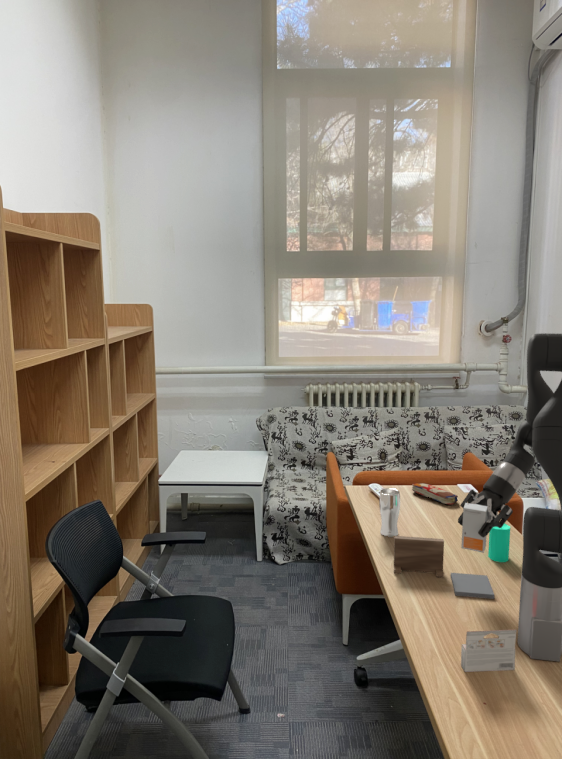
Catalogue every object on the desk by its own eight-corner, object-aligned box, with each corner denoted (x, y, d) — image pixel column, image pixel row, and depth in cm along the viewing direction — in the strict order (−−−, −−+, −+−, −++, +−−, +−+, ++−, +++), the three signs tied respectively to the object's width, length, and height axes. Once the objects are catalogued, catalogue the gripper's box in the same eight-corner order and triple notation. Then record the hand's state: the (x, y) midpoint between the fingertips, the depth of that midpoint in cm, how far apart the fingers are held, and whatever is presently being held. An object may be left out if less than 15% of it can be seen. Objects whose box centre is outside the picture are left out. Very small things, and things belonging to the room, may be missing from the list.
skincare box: (461, 549, 144) (462, 507, 142) (463, 542, 148) (465, 502, 146) (484, 553, 141) (486, 511, 139) (486, 546, 145) (488, 505, 143)
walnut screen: (443, 577, 151) (444, 545, 149) (394, 573, 154) (394, 541, 152) (441, 567, 157) (442, 535, 155) (393, 563, 159) (394, 532, 158)
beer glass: (384, 538, 176) (385, 496, 173) (375, 530, 182) (376, 489, 180) (403, 536, 178) (404, 494, 175) (393, 527, 184) (394, 487, 182)
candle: (510, 563, 159) (512, 525, 157) (489, 561, 160) (491, 524, 158) (506, 553, 165) (508, 517, 163) (486, 552, 166) (488, 516, 164)
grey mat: (494, 598, 140) (494, 594, 140) (455, 595, 142) (455, 591, 142) (486, 579, 150) (487, 575, 150) (450, 576, 152) (450, 572, 151)
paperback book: (430, 488, 222) (430, 477, 221) (462, 505, 204) (462, 493, 203) (408, 492, 218) (408, 481, 217) (438, 510, 200) (439, 497, 199)
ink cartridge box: (460, 665, 115) (461, 624, 114) (509, 663, 116) (512, 622, 114) (464, 673, 113) (466, 631, 111) (515, 671, 113) (517, 629, 112)
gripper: (478, 466, 150) (444, 512, 148) (518, 482, 137) (482, 533, 135) (491, 481, 153) (458, 526, 151) (532, 498, 140) (497, 548, 138)
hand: (470, 529), depth 143 cm, fingers closed on skincare box, 7 cm apart
